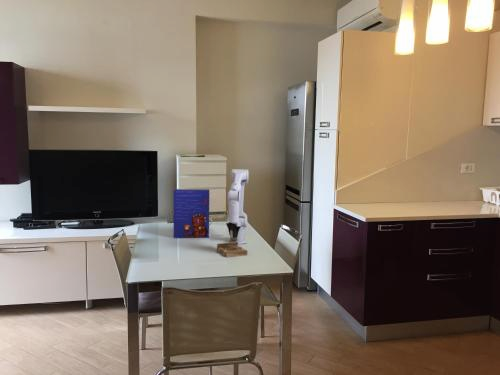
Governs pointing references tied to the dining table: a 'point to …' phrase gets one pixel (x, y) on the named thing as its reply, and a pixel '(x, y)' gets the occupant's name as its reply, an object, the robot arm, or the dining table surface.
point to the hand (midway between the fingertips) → (233, 236)
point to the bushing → (232, 237)
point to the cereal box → (191, 213)
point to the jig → (231, 249)
